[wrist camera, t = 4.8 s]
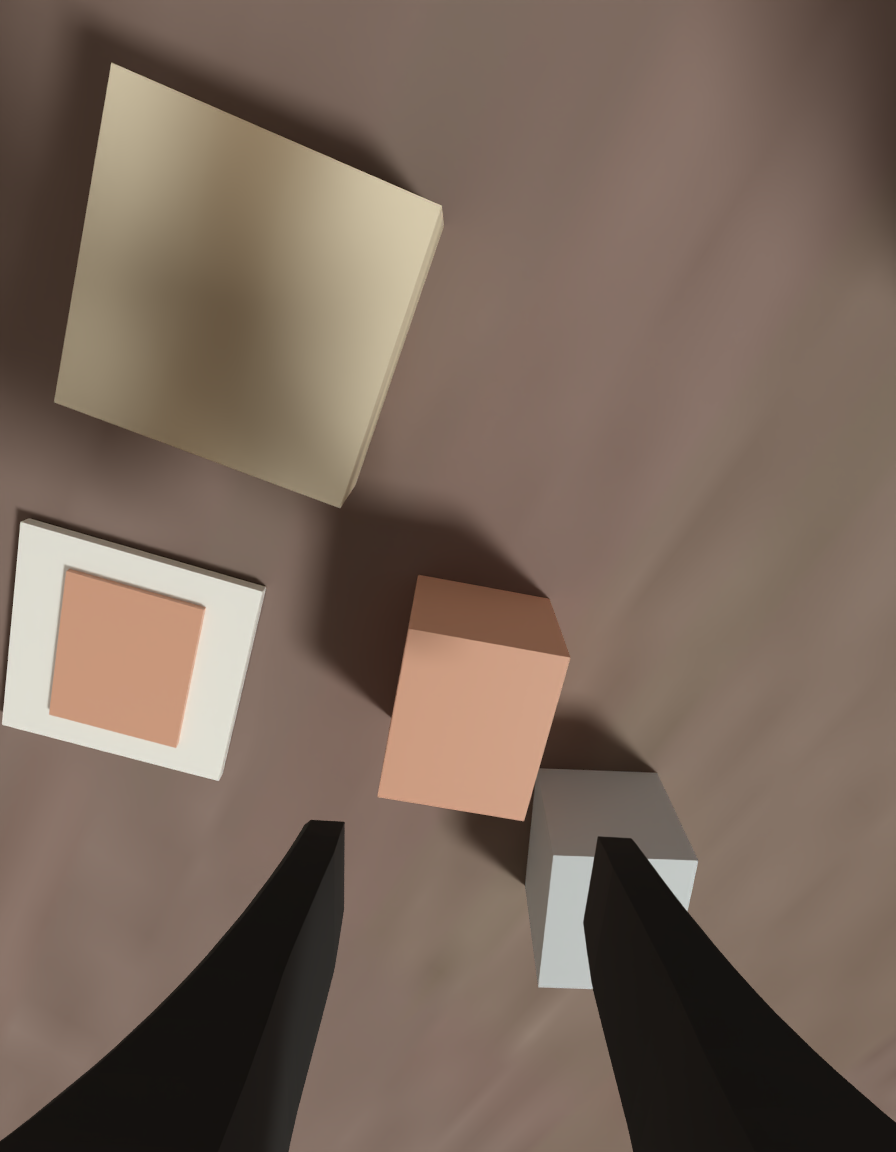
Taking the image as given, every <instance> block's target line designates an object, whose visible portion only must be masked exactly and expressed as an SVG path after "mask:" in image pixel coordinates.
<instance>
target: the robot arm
mask: <svg viewBox="0 0 896 1152" xmlns="http://www.w3.org/2000/svg"><path fill="white" fill-rule="evenodd" d="M344 824H345V822H338V821H320V820H310V821H309V822H308V823H306V824H305V825H304V827H303V828H302V830H301V832H300V833H299V835H298V837H297V838H296V840H295V841H294V843H293V845H292V846H291V848H290V849H289V851H288V852H287V854H286V855H285V857H284V858H283V860H282V861H281V862H280V864H279V865H278V867H277V868H276V869H275V871H274V872H273V874H272V875H271V876H270V878H269V879H268V881H267V882H266V883H265V884H264V886H263V887H262V888H261V890H260V891H259V892H258V894H257V895H256V896H255V898H254V899H253V900H252V902H251V903H250V904H249V905H248V907H247V908H246V909H245V911H244V912H243V913H242V914H241V916H240V917H239V918H238V919H237V921H236V922H235V923H234V924H233V925H232V926H231V928H230V929H229V930H228V931H227V932H226V934H225V935H224V936H223V937H222V938H221V939H220V941H219V942H218V943H217V944H216V945H215V946H214V948H213V949H212V950H211V951H210V952H209V953H208V955H207V956H206V957H205V958H204V959H203V960H202V961H201V962H200V964H199V965H198V966H197V967H196V968H195V969H194V970H193V971H192V972H191V973H190V974H189V975H188V977H187V978H186V979H185V980H184V981H183V982H182V983H181V984H180V985H179V986H178V987H177V988H176V989H175V990H174V991H173V992H172V993H171V994H170V995H169V996H168V997H167V998H166V999H165V1000H164V1001H163V1002H162V1003H161V1004H160V1005H159V1006H158V1007H157V1008H156V1009H155V1010H154V1011H153V1012H152V1013H151V1014H150V1015H149V1016H148V1017H147V1018H146V1019H145V1020H144V1021H143V1022H141V1023H140V1024H139V1025H138V1026H137V1027H136V1028H135V1029H134V1030H133V1031H132V1032H131V1033H130V1034H129V1035H128V1036H127V1037H126V1038H124V1039H123V1040H122V1041H121V1042H120V1043H119V1044H118V1045H117V1046H116V1047H115V1048H114V1049H112V1050H111V1051H110V1052H109V1053H108V1054H107V1055H106V1056H105V1057H104V1058H102V1059H101V1060H100V1061H99V1062H98V1063H97V1064H96V1065H94V1066H93V1067H92V1068H91V1069H90V1070H89V1071H87V1072H86V1073H85V1074H84V1075H82V1076H81V1077H80V1078H79V1079H78V1080H76V1081H75V1082H74V1083H73V1084H71V1085H70V1086H69V1087H68V1088H67V1089H65V1090H64V1091H63V1092H62V1093H60V1094H59V1095H58V1096H57V1097H56V1098H54V1099H53V1100H52V1101H51V1102H49V1103H48V1104H47V1105H46V1106H45V1107H43V1108H42V1109H41V1110H40V1111H38V1112H37V1113H36V1114H35V1115H34V1116H32V1117H31V1118H30V1119H29V1120H27V1121H26V1122H25V1123H24V1124H22V1125H21V1126H20V1127H18V1128H17V1129H16V1130H14V1131H13V1132H12V1133H11V1134H9V1135H8V1136H7V1137H5V1138H4V1139H3V1140H1V1141H0V1152H288V1151H289V1146H290V1141H291V1137H292V1133H293V1128H294V1124H295V1119H296V1115H297V1111H298V1107H299V1103H300V1099H301V1095H302V1091H303V1088H304V1084H305V1080H306V1076H307V1072H308V1069H309V1065H310V1061H311V1057H312V1053H313V1050H314V1046H315V1042H316V1038H317V1034H318V1031H319V1027H320V1023H321V1019H322V1015H323V1011H324V1008H325V1004H326V1000H327V996H328V992H329V988H330V984H331V980H332V976H333V973H334V968H335V962H336V956H337V950H338V944H339V938H340V931H341V925H342V918H343V912H344ZM583 926H584V934H585V941H586V949H587V956H588V963H589V969H590V976H591V983H592V987H593V991H594V995H595V999H596V1003H597V1007H598V1011H599V1015H600V1019H601V1023H602V1027H603V1031H604V1035H605V1039H606V1043H607V1047H608V1051H609V1055H610V1059H611V1063H612V1067H613V1071H614V1075H615V1079H616V1082H617V1086H618V1090H619V1094H620V1098H621V1102H622V1106H623V1110H624V1114H625V1118H626V1122H627V1126H628V1130H629V1134H630V1139H631V1144H632V1148H633V1152H896V1122H894V1121H893V1120H892V1119H891V1118H890V1117H888V1116H887V1115H886V1114H885V1113H883V1112H882V1111H881V1110H880V1109H879V1108H878V1107H877V1106H875V1105H874V1104H873V1103H872V1102H871V1101H870V1100H869V1099H867V1098H866V1097H865V1096H864V1095H863V1094H862V1093H861V1092H859V1091H858V1090H857V1089H856V1088H855V1087H854V1086H853V1085H851V1084H850V1083H849V1082H848V1081H847V1080H846V1079H845V1078H843V1077H842V1076H841V1075H840V1074H839V1073H838V1072H837V1071H836V1070H834V1069H833V1068H832V1067H831V1066H830V1065H829V1064H828V1063H827V1062H826V1061H825V1060H824V1059H823V1058H821V1057H820V1056H819V1055H818V1054H817V1053H816V1052H815V1051H814V1050H813V1049H812V1048H811V1047H810V1046H809V1045H808V1044H807V1043H806V1042H805V1041H804V1040H803V1039H802V1038H801V1037H800V1036H799V1035H798V1034H797V1033H796V1032H795V1031H794V1030H793V1029H792V1028H790V1027H789V1026H788V1025H787V1024H786V1023H785V1022H784V1021H783V1020H782V1019H781V1018H780V1017H779V1016H778V1015H777V1014H776V1013H775V1012H774V1011H773V1010H772V1009H771V1008H770V1007H769V1005H768V1004H767V1003H766V1002H765V1001H764V1000H763V999H762V998H761V997H760V996H759V995H758V994H757V993H756V992H755V990H754V989H753V988H752V987H751V986H750V985H749V984H748V983H747V982H746V980H745V979H744V978H743V977H742V976H741V975H740V974H739V973H738V971H737V970H736V969H735V968H734V967H733V966H732V965H731V964H730V962H729V961H728V960H727V959H726V958H725V957H724V955H723V954H722V953H721V952H720V951H719V950H718V948H717V947H716V946H715V945H714V944H713V942H712V941H711V940H710V939H709V937H708V936H707V935H706V934H705V933H704V931H703V930H702V929H701V928H700V926H699V925H698V924H697V923H696V922H695V920H694V919H693V918H692V917H691V915H690V914H689V913H688V912H687V910H686V909H685V908H684V906H683V905H682V904H681V903H680V901H679V900H678V899H677V897H676V896H675V895H674V894H673V892H672V891H671V890H670V888H669V887H668V886H667V884H666V883H665V882H664V880H663V879H662V878H661V876H660V875H659V874H658V872H657V871H656V870H655V868H654V867H653V866H652V864H651V863H650V862H649V860H648V859H647V858H646V856H645V855H644V853H643V852H642V851H641V849H640V848H639V847H638V845H637V844H636V843H635V842H634V841H633V839H632V838H620V837H602V836H598V838H597V844H596V850H595V856H594V861H593V867H592V873H591V879H590V885H589V891H588V896H587V902H586V908H585V914H584V920H583Z"/></svg>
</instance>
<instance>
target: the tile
mask: <svg viewBox="0 0 896 1152" xmlns="http://www.w3.org/2000/svg"><path fill="white" fill-rule="evenodd" d="M265 590H266V587H265V586H262V585H258V584H255V583H251V582H248V581H244V580H241V579H237V578H234V577H230V576H227V575H224V574H220V573H217V572H213V571H210V570H206V569H203V568H199V567H196V566H192V565H189V564H186V563H182V562H179V561H175V560H172V559H168V558H165V557H161V556H158V555H155V554H151V553H148V552H144V551H141V550H137V549H134V548H130V547H127V546H123V545H120V544H117V543H113V542H110V541H106V540H103V539H99V538H96V537H92V536H89V535H85V534H82V533H79V532H75V531H72V530H68V529H65V528H61V527H58V526H54V525H51V524H47V523H44V522H41V521H37V520H34V519H30V518H29V519H26V520H24V521H21V522H20V533H19V544H18V555H17V566H16V577H15V588H14V599H13V610H12V621H11V632H10V643H9V654H8V665H7V676H6V687H5V698H4V708H3V719H2V725H5V726H9V727H13V728H17V729H21V730H25V731H28V732H32V733H36V734H40V735H44V736H48V737H52V738H55V739H59V740H63V741H67V742H71V743H75V744H78V745H82V746H86V747H90V748H94V749H98V750H101V751H105V752H109V753H113V754H117V755H121V756H125V757H128V758H132V759H136V760H140V761H144V762H148V763H151V764H155V765H159V766H163V767H167V768H171V769H174V770H178V771H182V772H186V773H190V774H194V775H198V776H201V777H205V778H209V779H213V780H217V781H219V779H220V778H221V776H222V774H223V770H224V766H225V762H226V757H227V753H228V749H229V744H230V740H231V736H232V732H233V727H234V723H235V719H236V714H237V710H238V706H239V702H240V697H241V693H242V689H243V685H244V680H245V676H246V672H247V667H248V663H249V659H250V655H251V650H252V646H253V642H254V637H255V633H256V629H257V625H258V620H259V616H260V612H261V607H262V603H263V599H264V595H265Z"/></svg>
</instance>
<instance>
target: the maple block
mask: <svg viewBox="0 0 896 1152" xmlns="http://www.w3.org/2000/svg"><path fill="white" fill-rule="evenodd" d="M443 227H444V222H443V213H442V206H441V205H439V204H436V203H434V202H432V201H429V200H427V199H425V198H422V197H420V196H418V195H416V194H413V193H411V192H409V191H406V190H404V189H402V188H399V187H397V186H395V185H392V184H390V183H388V182H386V181H383V180H381V179H379V178H376V177H374V176H372V175H369V174H367V173H365V172H362V171H360V170H358V169H356V168H353V167H351V166H349V165H346V164H344V163H342V162H339V161H337V160H335V159H333V158H330V157H328V156H326V155H323V154H321V153H319V152H316V151H314V150H312V149H309V148H307V147H305V146H303V145H300V144H298V143H296V142H293V141H291V140H289V139H286V138H284V137H282V136H280V135H277V134H275V133H273V132H270V131H268V130H266V129H263V128H261V127H259V126H256V125H254V124H252V123H250V122H247V121H245V120H243V119H240V118H238V117H236V116H233V115H231V114H229V113H226V112H224V111H222V110H220V109H217V108H215V107H213V106H210V105H208V104H206V103H203V102H201V101H199V100H197V99H194V98H192V97H190V96H187V95H185V94H183V93H180V92H178V91H176V90H173V89H171V88H169V87H167V86H164V85H162V84H160V83H157V82H155V81H153V80H150V79H148V78H146V77H144V76H141V75H139V74H137V73H134V72H132V71H130V70H127V69H125V68H123V67H120V66H118V65H116V64H114V63H111V68H110V74H109V80H108V86H107V92H106V98H105V104H104V109H103V115H102V121H101V127H100V133H99V139H98V145H97V151H96V157H95V163H94V169H93V175H92V180H91V186H90V192H89V198H88V204H87V210H86V216H85V222H84V228H83V234H82V240H81V245H80V251H79V257H78V263H77V269H76V275H75V281H74V287H73V293H72V299H71V305H70V310H69V316H68V322H67V328H66V334H65V340H64V346H63V352H62V358H61V364H60V370H59V376H58V381H57V387H56V393H55V399H54V402H55V403H57V404H60V405H63V406H65V407H68V408H71V409H73V410H76V411H79V412H82V413H84V414H87V415H90V416H92V417H95V418H98V419H100V420H103V421H106V422H109V423H111V424H114V425H117V426H119V427H122V428H125V429H127V430H130V431H133V432H135V433H138V434H141V435H144V436H146V437H149V438H152V439H154V440H157V441H160V442H162V443H165V444H168V445H171V446H173V447H176V448H179V449H181V450H184V451H187V452H189V453H192V454H195V455H198V456H200V457H203V458H206V459H208V460H211V461H214V462H216V463H219V464H222V465H225V466H227V467H230V468H233V469H235V470H238V471H241V472H243V473H246V474H249V475H252V476H254V477H257V478H260V479H262V480H265V481H268V482H270V483H273V484H276V485H279V486H281V487H284V488H287V489H289V490H292V491H295V492H297V493H300V494H303V495H305V496H308V497H311V498H314V499H316V500H319V501H322V502H324V503H327V504H330V505H332V506H335V507H338V508H341V506H342V505H343V503H344V502H345V500H346V499H347V497H348V496H349V494H350V493H351V491H352V490H353V488H354V487H355V485H356V482H357V480H358V477H359V474H360V471H361V468H362V465H363V462H364V459H365V456H366V453H367V450H368V447H369V444H370V441H371V438H372V436H373V433H374V430H375V427H376V424H377V421H378V418H379V415H380V412H381V409H382V406H383V403H384V400H385V397H386V394H387V392H388V389H389V386H390V383H391V380H392V377H393V374H394V371H395V368H396V365H397V362H398V359H399V356H400V353H401V350H402V347H403V345H404V342H405V339H406V336H407V333H408V330H409V327H410V324H411V321H412V318H413V315H414V312H415V309H416V306H417V303H418V301H419V298H420V295H421V292H422V289H423V286H424V283H425V280H426V277H427V274H428V271H429V268H430V265H431V262H432V259H433V257H434V254H435V251H436V248H437V245H438V242H439V239H440V236H441V233H442V230H443Z"/></svg>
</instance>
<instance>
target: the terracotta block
mask: <svg viewBox="0 0 896 1152" xmlns="http://www.w3.org/2000/svg"><path fill="white" fill-rule="evenodd" d="M569 661H570V655H569V652H568V650H567V647H566V644H565V641H564V638H563V636H562V633H561V630H560V627H559V624H558V622H557V619H556V616H555V613H554V610H553V608H552V605H551V602H550V599H548V598H543V597H537V596H532V595H526V594H521V593H516V592H510V591H505V590H499V589H494V588H488V587H483V586H477V585H472V584H466V583H461V582H456V581H450V580H445V579H439V578H434V577H428V576H423V575H418V578H417V583H416V589H415V594H414V599H413V605H412V610H411V615H410V621H409V626H408V631H407V637H406V642H405V647H404V653H403V658H402V664H401V669H400V674H399V680H398V685H397V690H396V696H395V701H394V706H393V712H392V717H391V723H390V729H389V734H388V740H387V746H386V751H385V757H384V763H383V768H382V774H381V780H380V786H379V791H378V797H381V798H387V799H393V800H399V801H405V802H411V803H417V804H423V805H429V806H435V807H441V808H447V809H453V810H459V811H465V812H471V813H477V814H483V815H489V816H495V817H501V818H507V819H513V820H519V821H524V820H525V816H526V812H527V809H528V805H529V802H530V798H531V795H532V791H533V788H534V784H535V781H536V777H537V774H538V770H539V767H540V763H541V760H542V756H543V753H544V749H545V746H546V742H547V738H548V735H549V731H550V728H551V724H552V721H553V717H554V714H555V710H556V707H557V703H558V700H559V696H560V693H561V689H562V686H563V682H564V679H565V675H566V672H567V668H568V665H569Z"/></svg>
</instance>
